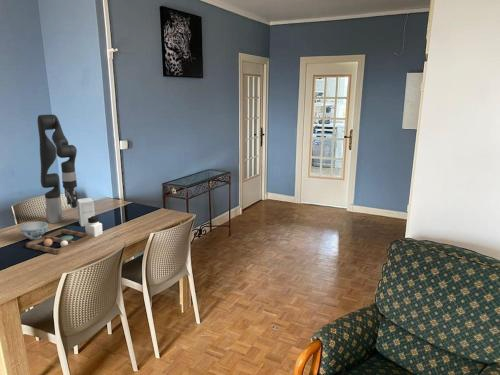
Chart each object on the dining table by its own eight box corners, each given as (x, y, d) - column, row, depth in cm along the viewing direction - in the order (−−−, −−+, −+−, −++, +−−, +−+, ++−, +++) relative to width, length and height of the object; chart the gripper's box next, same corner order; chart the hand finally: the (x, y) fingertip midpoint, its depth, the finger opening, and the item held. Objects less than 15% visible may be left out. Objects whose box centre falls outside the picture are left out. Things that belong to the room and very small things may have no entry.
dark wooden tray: (25, 247, 216) (25, 243, 215) (62, 232, 239) (62, 228, 239) (57, 254, 208) (57, 250, 207) (92, 238, 231) (92, 234, 231)
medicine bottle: (103, 233, 239) (101, 215, 236) (95, 237, 232) (93, 219, 229) (93, 232, 241) (92, 214, 238) (85, 235, 235) (84, 217, 232)
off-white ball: (59, 247, 216) (58, 241, 215) (64, 245, 220) (64, 238, 219) (64, 248, 215) (63, 242, 214) (70, 246, 218) (69, 239, 217)
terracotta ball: (42, 246, 217) (41, 239, 216) (48, 244, 221) (48, 237, 220) (48, 248, 215) (47, 240, 214) (54, 245, 219) (53, 238, 218)
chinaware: (22, 234, 234) (21, 222, 232) (50, 231, 240) (48, 220, 238) (19, 243, 221) (17, 231, 219) (48, 240, 226) (46, 228, 225)
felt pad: (55, 239, 227) (55, 239, 227) (66, 235, 235) (66, 234, 235) (65, 241, 225) (65, 241, 225) (76, 237, 232) (76, 236, 232)
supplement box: (93, 220, 262) (91, 197, 258) (96, 224, 255) (94, 200, 251) (78, 222, 257) (76, 199, 253) (80, 226, 250) (78, 202, 245)
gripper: (58, 178, 222) (61, 204, 226) (66, 182, 212) (69, 209, 216) (71, 176, 227) (74, 202, 231) (80, 180, 217) (82, 207, 221)
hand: (71, 205), depth 223 cm, fingers open, 8 cm apart
